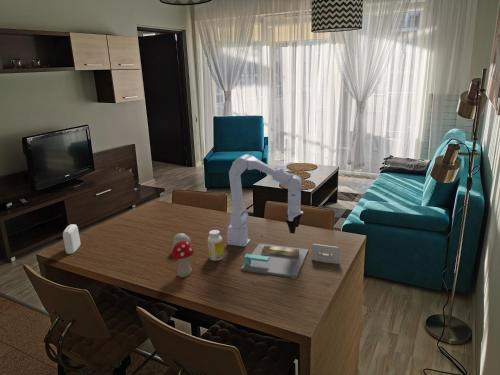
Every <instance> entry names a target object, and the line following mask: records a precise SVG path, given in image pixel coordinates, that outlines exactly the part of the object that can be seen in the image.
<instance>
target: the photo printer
mask: <svg viewBox="0 0 500 375" xmlns="http://www.w3.org/2000/svg"><path fill="white" fill-rule="evenodd" d="M62 238H63V243H64V249H65V253H66V254H68V255H72V254H74V253H75V252H76V251H77V250H78V249H79V248H80V247H81V244H82V243H81V238H80V232H79V227H78V226H77V224H69V225H67V226H66V228H65V229H64V230H63V232H62Z"/></svg>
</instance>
